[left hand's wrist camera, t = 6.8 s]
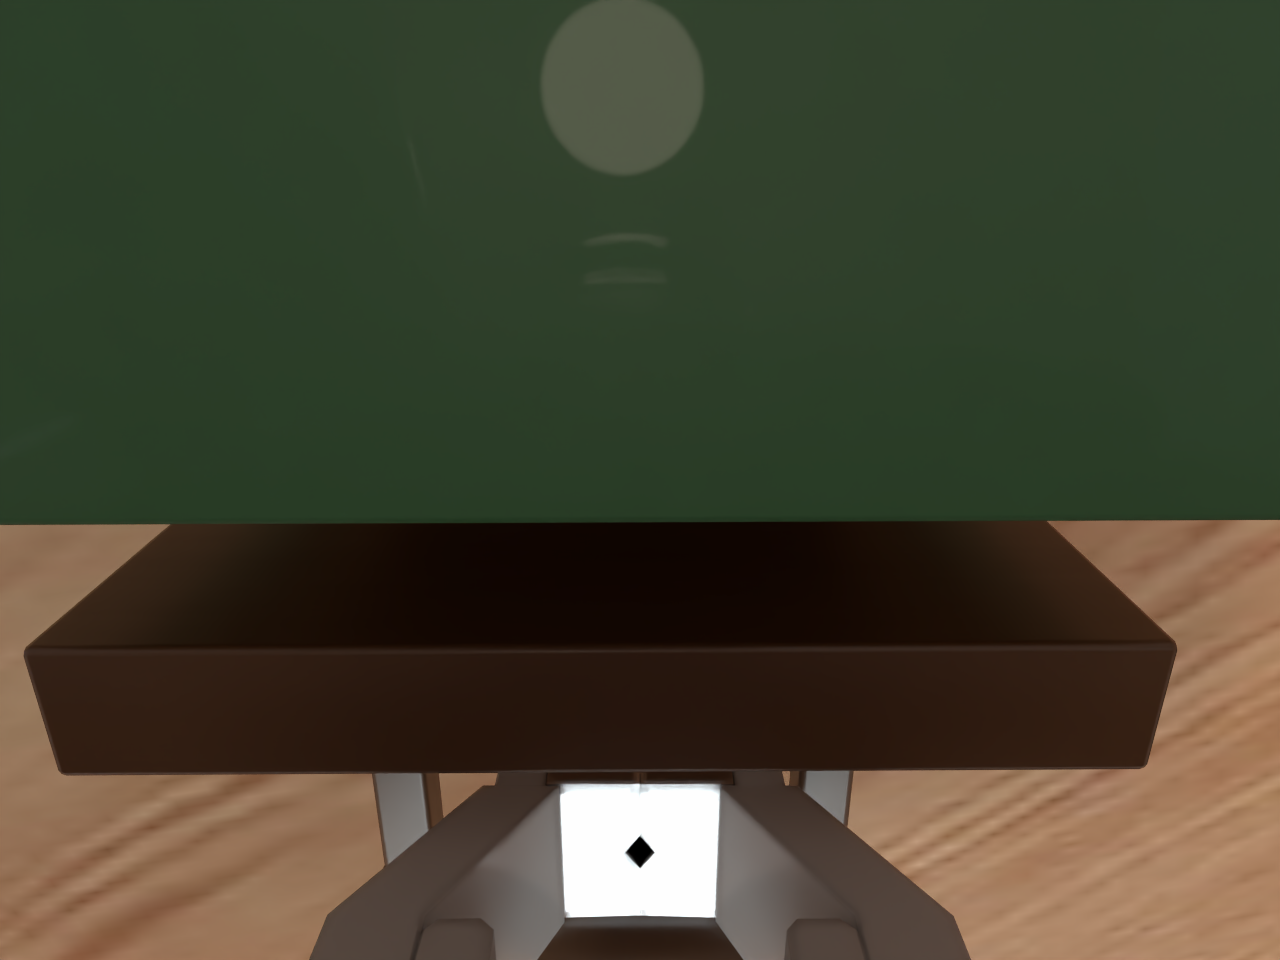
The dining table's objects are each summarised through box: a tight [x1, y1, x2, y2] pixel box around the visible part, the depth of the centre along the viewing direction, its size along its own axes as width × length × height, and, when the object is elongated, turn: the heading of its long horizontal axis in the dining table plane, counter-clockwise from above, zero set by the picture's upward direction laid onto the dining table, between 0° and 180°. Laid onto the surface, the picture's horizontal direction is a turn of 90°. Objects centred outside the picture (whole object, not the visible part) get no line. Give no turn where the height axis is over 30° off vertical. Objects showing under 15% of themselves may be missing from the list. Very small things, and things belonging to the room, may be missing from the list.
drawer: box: [24, 521, 1177, 960], centre depth 8 cm, size 21×9×7 cm, turn 0°
